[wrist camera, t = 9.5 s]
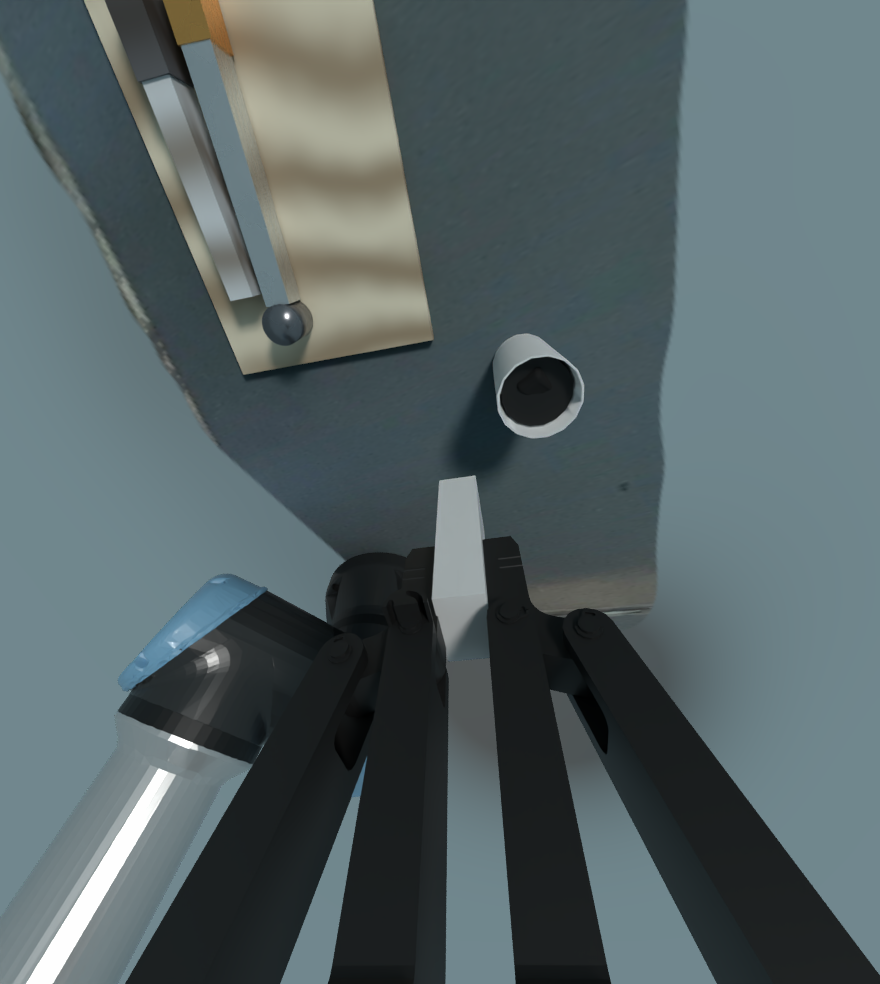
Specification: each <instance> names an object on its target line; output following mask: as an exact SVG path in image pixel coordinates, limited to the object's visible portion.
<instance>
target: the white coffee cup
mask: <svg viewBox="0 0 880 984" xmlns="http://www.w3.org/2000/svg"><path fill="white" fill-rule="evenodd" d="M493 375H494V383H495V392H496V400H497V408H498V412H499V414H500V416H501V418H502V420H503V422H504V424H505V425H506V426H507V427H508V428H510V429H511V430H512V431H514V432H515V433H516V434H518V435H522V436H525V437H529V438H540V437H549V436H551V435H553V434H555V433H557V432H559V431H561V430H564V429H565V428H566V427H567V426H568V425H569V424H570V423H571V422H572V421H573V420H574V419H575V418H576V416H577V414H578V412H579V410H580V408H581V406H582V404H583V399H584V383H583V381H582V378H581V376H580V373H579V371H578V369H576V368H575V367H574V366H573V365H572V364H571V363H570V362H569V361H568V360H566V359H565V358H564V357H563V356H562V355H560V354H559V353H558V352H557V351H555V350H554V349H553V348H552V347H550V346H549V345H548V344H547V343H546V342H544V341H543V340H542V339H541V338H539V337H537V336H534V335H531V334H520V335H515V336H513V337H511V338H509V339H507V340H506V341H504V342H503V344H502V345H501V346H500V347H499V348H498V350H497V351H496V354H495V357H494V360H493Z"/></svg>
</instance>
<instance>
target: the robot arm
mask: <svg viewBox="0 0 880 984" xmlns="http://www.w3.org/2000/svg"><path fill="white" fill-rule="evenodd" d="M267 590H268V589H267V588H266V587H259V586H257V585H255V584H253V583H251V582H248V581H246V580H244V579H242V578H240V577H238V576H236V575H232V574H221V575H217V576H215V577H213V578H212V579H210V580H209V581H208V582H206V583H205V584H204V585H203V586H202V587H201V588H200V589H199V590H198V591H197V592H196V593H195V594H194V595H193V596H192V597H191V598H190V599H189V600H188V601H187V602H186V604H184V606H183V607H182V608H181V609H180V610H179V611H178V612H177V613H176V614H175V615H174V616H173V617H172V618H171V619H170V620H169V622H168V623H167V624H166V625H165V626H164V627H163V628H162V629H161V630H160V631H159V632H158V634H156V636H155V637H154V638H153V639H152V640H151V641H150V642H149V643H148V644H147V646H146V647H145V648H144V649H143V651H141V652H140V653H139V655H138V656H137V657H136V658H135V659H134V660H133V662H132V663H130V664H129V665H128V667H127V668H126V669H125V670H124V671H123V672H122V674H121V675H120V676H119V678H118V684H119V685H120V686H121V687H122V690H123V691H129V690H132V691H131V692H130V694H129V696H128V697H127V699H126V700H125V701H124V703H123V704H122V706H121V707H120V708H119V710H118V711H117V712H116V714H115V715H114V716H115V723H116V729H117V736H118V741H117V748H116V749H115V750H114V752H113V753H112V755H111V756H110V758H109V759H108V761H107V762H106V764H105V765H104V766H103V768H102V769H101V771H100V772H99V774H98V775H97V777H96V778H95V780H94V781H93V783H92V784H91V785H90V787H89V788H88V790H87V791H86V793H85V794H84V796H83V797H82V799H81V800H80V802H79V803H78V805H77V806H76V807H75V809H74V810H73V812H72V813H71V815H70V816H69V818H68V819H67V821H66V822H65V823H64V825H63V826H62V828H61V829H60V831H59V832H58V834H57V835H56V837H55V838H54V840H53V841H52V843H51V844H50V845H49V847H48V848H47V850H46V851H45V853H44V854H43V856H42V857H41V859H40V860H39V861H38V863H37V865H36V866H35V868H34V869H33V870H32V872H31V873H30V875H29V876H28V878H27V879H26V880H25V882H24V883H23V885H22V886H21V888H20V889H19V891H18V892H17V894H16V895H15V897H14V898H13V899H12V901H11V902H10V904H9V905H8V907H7V908H6V910H5V911H4V913H3V914H2V916H1V917H0V984H118V983H119V980H120V979H121V977H122V975H123V973H124V971H125V969H126V967H127V965H128V963H129V962H130V959H131V958H132V956H133V954H134V952H135V950H136V948H137V946H138V944H139V942H140V941H141V939H142V937H143V935H144V933H145V931H146V929H147V927H148V925H149V923H150V921H151V920H152V918H153V916H154V914H155V912H156V910H157V908H158V906H159V904H160V902H161V900H162V899H163V897H164V895H165V893H166V891H167V889H168V887H169V885H170V883H171V881H172V879H173V877H174V876H175V874H176V872H177V870H178V868H179V866H180V864H181V862H182V860H183V859H184V857H185V855H186V853H187V851H188V849H189V847H190V845H191V843H192V841H193V839H194V838H195V836H196V834H197V832H198V830H199V828H200V826H201V824H202V822H203V820H204V818H205V817H206V815H207V813H208V811H209V809H210V807H211V805H212V803H213V801H214V799H215V797H216V795H217V794H218V792H219V790H220V788H221V786H222V785H223V784H224V783H225V782H227V781H228V780H229V779H231V778H233V777H235V776H237V775H239V774H241V773H243V772H245V771H247V770H249V769H250V771H249V772H248V774H247V776H246V778H245V779H244V781H243V783H242V784H241V786H240V788H239V789H238V791H237V793H236V795H235V796H234V798H233V800H232V801H231V803H230V805H229V807H228V808H227V810H226V812H225V814H224V815H223V817H222V819H221V820H220V822H219V824H218V825H217V827H216V829H215V831H214V832H213V834H212V836H211V838H210V839H209V841H208V843H207V845H206V846H205V848H204V850H203V851H202V853H201V855H200V856H199V858H198V860H197V861H196V863H195V865H194V867H193V868H192V870H191V872H190V873H189V875H188V877H187V879H186V880H185V882H184V884H183V886H182V887H181V889H180V891H179V892H178V894H177V896H176V897H175V899H174V901H173V903H172V904H171V906H170V908H169V910H168V911H167V913H166V915H165V916H164V918H163V920H162V921H161V923H160V925H159V927H158V928H157V930H156V932H155V933H154V935H153V937H152V939H151V940H150V942H149V944H148V945H147V947H146V949H145V951H144V952H143V954H142V956H141V957H140V959H139V961H138V963H137V964H136V966H135V968H134V969H133V971H132V973H131V975H130V977H129V978H128V980H127V981H126V983H125V984H280V982H281V980H282V977H283V975H284V972H285V970H286V967H287V964H288V961H289V959H290V956H291V954H292V951H293V949H294V946H295V943H296V941H297V938H298V936H299V933H300V930H301V928H302V925H303V922H304V920H305V917H306V914H307V912H308V909H309V906H310V904H311V902H312V899H313V896H314V894H315V891H316V888H317V886H318V883H319V880H320V878H321V875H322V873H323V870H324V868H325V865H326V862H327V860H328V857H329V854H330V852H331V849H332V846H333V844H334V841H335V839H336V836H337V833H338V831H339V828H340V826H341V823H342V820H343V818H344V815H345V813H346V810H347V807H348V805H349V802H350V799H351V797H358V796H360V803H359V808H358V815H357V820H356V827H355V833H354V838H353V844H352V851H351V856H350V862H349V868H348V875H347V881H346V886H345V893H344V898H343V904H342V910H341V917H340V922H339V929H338V934H337V941H336V946H335V952H334V959H333V964H332V969H331V975H330V979H329V982H328V984H445V969H446V877H447V783H448V691H449V678H448V673H447V669H446V655H447V658H448V661H449V662H450V661H461V660H472V659H482V658H483V659H484V658H490V667H491V679H492V691H493V704H494V715H495V728H496V741H497V753H498V766H499V778H500V790H501V803H502V816H503V828H504V839H505V851H506V852H505V853H506V865H507V878H508V891H509V903H510V915H511V928H512V940H513V953H514V965H515V980H516V984H611V981H610V977H609V972H608V968H607V964H606V958H605V953H604V949H603V944H602V939H601V934H600V930H599V925H598V919H597V915H596V910H595V905H594V900H593V895H592V891H591V886H590V881H589V876H588V871H587V867H586V862H585V857H584V852H583V847H582V842H581V838H580V833H579V828H578V824H577V818H576V814H575V809H574V804H573V799H572V794H571V790H570V785H569V780H568V775H567V770H566V765H565V761H564V756H563V751H562V746H561V741H560V737H559V732H558V727H557V722H556V718H555V713H554V708H553V703H552V698H551V693H550V689H551V690H555V691H559V692H563V693H567V696H568V697H569V699H570V701H571V703H572V705H573V707H574V709H575V711H576V713H577V715H578V717H579V719H580V721H581V722H582V724H583V726H584V728H585V730H586V732H587V734H588V736H589V738H590V740H591V742H592V743H593V746H594V748H595V749H596V751H597V753H598V755H599V757H600V759H601V761H602V763H603V765H604V766H605V769H606V771H607V772H608V774H609V776H610V778H611V780H612V782H613V784H614V786H615V788H616V790H617V792H618V794H619V796H620V798H621V800H622V801H623V803H624V805H625V807H626V809H627V811H628V813H629V815H630V817H631V818H632V821H633V823H634V825H635V827H636V828H637V830H638V832H639V834H640V836H641V838H642V840H643V842H644V844H645V846H646V848H647V850H648V852H649V854H650V855H651V857H652V859H653V861H654V863H655V865H656V867H657V869H658V871H659V873H660V875H661V877H662V878H663V881H664V882H665V884H666V886H667V888H668V890H669V892H670V894H671V896H672V898H673V900H674V901H675V904H676V905H677V907H678V909H679V911H680V913H681V915H682V917H683V919H684V921H685V923H686V925H687V927H688V929H689V931H690V932H691V934H692V936H693V938H694V940H695V942H696V944H697V946H698V948H699V950H700V952H701V954H702V956H703V958H704V960H705V961H706V963H707V965H708V967H709V969H710V971H711V973H712V975H713V977H714V979H715V981H716V983H717V984H880V975H879V974H878V972H877V971H876V970H875V968H874V967H873V966H872V964H871V963H870V962H869V961H868V959H867V958H866V957H865V955H864V954H863V953H862V951H861V950H860V949H859V947H858V946H857V945H856V943H855V942H854V941H853V939H852V938H851V937H850V935H849V934H848V933H847V931H846V930H845V929H844V928H843V926H842V925H841V923H840V922H839V921H838V919H837V918H836V917H835V915H834V914H833V913H832V911H831V910H830V909H829V907H828V906H827V905H826V903H825V902H824V901H823V900H822V898H821V897H820V895H819V894H818V893H817V891H816V890H815V889H814V888H813V886H812V885H811V884H810V882H809V881H808V880H807V878H806V877H805V876H804V874H803V873H802V872H801V870H800V869H799V868H798V866H797V865H796V864H795V862H794V861H793V860H792V858H791V857H790V856H789V854H788V853H787V852H786V850H785V849H784V848H783V846H782V845H781V844H780V842H779V841H778V840H777V838H776V837H775V836H774V834H773V833H772V832H771V831H770V829H769V828H768V826H767V825H766V824H765V822H764V821H763V820H762V818H761V817H760V816H759V814H758V813H757V812H756V810H755V809H754V808H753V806H752V805H751V804H750V802H749V801H748V800H747V799H746V797H745V796H744V795H743V793H742V792H741V791H740V789H739V788H738V787H737V785H736V784H735V783H734V781H733V780H732V779H731V777H730V776H729V775H728V773H727V772H726V771H725V769H724V768H723V767H722V765H721V764H720V763H719V761H718V760H717V759H716V757H715V756H714V755H713V753H712V752H711V751H710V749H709V748H708V747H707V745H706V744H705V743H704V741H703V740H702V739H701V737H700V736H699V735H698V733H696V731H695V730H694V728H693V727H692V725H691V724H690V723H689V722H688V720H687V719H686V718H685V716H684V715H683V714H682V712H681V711H680V710H679V708H678V707H677V706H676V704H675V703H674V702H673V700H672V699H671V698H670V696H669V695H668V694H667V692H666V691H665V690H664V688H663V687H662V686H661V684H660V683H659V682H658V680H657V679H656V678H655V676H654V675H653V674H652V673H651V671H650V670H649V669H648V667H647V666H646V664H645V663H644V662H643V660H642V659H641V658H640V656H639V655H638V654H637V652H636V651H635V650H634V649H633V647H632V646H631V645H630V643H629V642H628V641H627V639H626V638H625V637H624V635H623V634H622V633H621V631H620V630H619V629H618V627H617V626H616V625H615V623H614V622H613V621H612V620H611V619H610V618H609V617H608V616H607V615H606V614H604V613H602V612H600V611H598V610H595V609H588V608H583V609H576V610H574V611H572V612H570V613H569V614H568V615H567V616H566V617H565V618H562V617H556V616H551V615H548V614H545V613H543V612H541V611H539V610H538V609H537V608H535V607H534V605H533V604H532V603H531V601H530V598H529V595H528V590H527V585H526V580H525V575H524V570H523V566H522V561H521V556H520V551H519V546H518V544H517V543H516V542H515V541H514V540H513V539H512V537H511V536H507V537H499V538H491V539H485V536H484V527H483V521H482V514H481V508H480V501H479V495H478V488H477V482H476V476H468V477H461V478H454V479H447V480H440V481H439V494H438V509H437V525H436V541H435V546H434V547H426V548H417V549H412V551H411V552H410V554H409V555H408V557H407V558H406V557H403V556H399V555H396V554H390V553H367V554H362V555H359V556H356V557H353V558H351V559H349V560H347V561H345V562H344V563H343V564H341V565H340V566H339V567H338V568H337V569H336V571H335V572H334V573H333V575H332V577H331V580H330V583H329V586H328V589H327V592H326V617H327V623H326V622H324V621H322V620H321V619H319V618H317V617H315V616H313V615H311V614H310V613H308V612H306V611H304V610H302V609H300V608H298V607H297V606H295V605H293V604H291V603H289V602H287V601H285V600H284V599H282V598H280V597H278V596H276V595H274V594H272V593H270V592H269V591H267ZM263 745H264V747H263V748H262V746H263ZM261 748H262V750H261ZM260 750H261V752H260ZM259 752H260V754H259ZM258 754H259V755H258ZM257 756H258V757H257ZM256 758H257V759H256Z"/></svg>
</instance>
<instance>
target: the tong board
mask: <svg viewBox="0 0 880 984" xmlns="http://www.w3.org/2000/svg"><path fill="white" fill-rule="evenodd" d="M218 1H219V5H220V8H221V12H222V16H223V19H224V23H225V26H226V30H227V33H228V37H229V40H230V44H231V47H232V51H233V55H234V56H232V59H233V62H234V66H235V69H236V73H237V76H238V80H239V83H240V87H241V90H242V94H243V97H244V101H245V104H246V108H247V111H248V115H249V118H250V122H251V126H252V129H253V133H254V136H255V140H256V143H257V147H258V150H259V154H260V157H261V161H262V164H263V168H264V171H265V175H266V178H267V182H268V185H269V189H270V192H271V196H272V199H273V203H274V206H275V210H276V214H277V217H278V221H279V224H280V228H281V231H282V235H283V238H284V242H285V245H286V249H287V252H288V256H289V259H290V263H291V266H292V270H293V273H294V277H295V280H296V284H297V287H298V291H299V294H300V298H301V299H300V300H298V301H300V302H302V303H303V304H305V305H306V306H307V307H308V309H309V310H310V312H311V314H312V317H313V327H312V329H311V331H310V332H309V334H307V335H306V336H304V337H303V338H301V339H300V340H298V341H297V342H295V343H293V344H292V345H288V346H282V345H278V344H276V343H274V342H273V341H271V340H270V339H269V338H268V337H267V335H266V334H265V332H264V330H263V327H262V316H263V313H264V312H265V310H266V309H267V308H269V307H266V305H265V302H264V299H263V296H262V293H261V290H260V286H259V283H258V280H257V277H256V274H255V271H254V268H253V265H252V262H251V259H250V256H249V253H248V250H247V247H246V244H245V241H244V237H243V234H242V231H241V228H240V225H239V222H238V219H237V216H236V213H235V210H234V207H233V204H232V201H231V198H230V195H229V192H228V189H227V185H226V182H225V179H224V176H223V173H222V170H221V167H220V164H219V161H218V158H217V155H216V152H215V149H214V146H213V143H212V140H211V136H210V133H209V130H208V127H207V124H206V121H205V118H204V115H203V112H202V109H201V106H200V103H199V100H198V97H197V94H196V91H195V88H194V84H193V81H192V78H191V75H190V72H189V69H188V66H187V63H186V60H185V57H184V54H183V51H182V48H181V47H180V46H178V45H177V42H176V39H175V36H174V33H173V30H172V27H171V24H170V21H169V17H168V14H167V11H166V8H165V5H164V2H163V0H84V2H85V4H86V7H87V9H88V11H89V14H90V16H91V18H92V21H93V23H94V25H95V28H96V30H97V33H98V35H99V37H100V40H101V42H102V44H103V47H104V49H105V51H106V54H107V56H108V58H109V61H110V63H111V65H112V68H113V70H114V72H115V75H116V77H117V79H118V82H119V84H120V86H121V89H122V91H123V93H124V96H125V98H126V101H127V103H128V105H129V108H130V110H131V112H132V115H133V117H134V119H135V122H136V124H137V126H138V129H139V131H140V133H141V136H142V138H143V140H144V143H145V145H146V147H147V150H148V152H149V154H150V157H151V159H152V161H153V164H154V166H155V169H156V171H157V173H158V176H159V178H160V180H161V183H162V185H163V187H164V190H165V192H166V194H167V197H168V199H169V201H170V204H171V206H172V208H173V211H174V213H175V215H176V218H177V220H178V222H179V225H180V227H181V230H182V232H183V234H184V237H185V239H186V241H187V244H188V246H189V248H190V251H191V253H192V255H193V258H194V260H195V262H196V265H197V267H198V269H199V272H200V274H201V276H202V279H203V281H204V283H205V286H206V288H207V290H208V293H209V295H210V298H211V300H212V302H213V305H214V307H215V309H216V312H217V314H218V316H219V319H220V321H221V323H222V326H223V328H224V330H225V333H226V335H227V337H228V340H229V342H230V344H231V347H232V349H233V351H234V354H235V356H236V358H237V361H238V363H239V366H240V368H241V370H242V373H243V375H245V374H250V373H256V372H261V371H267V370H272V369H278V368H283V367H289V366H294V365H300V364H305V363H310V362H316V361H321V360H327V359H332V358H338V357H343V356H349V355H354V354H360V353H365V352H370V351H376V350H381V349H387V348H392V347H398V346H403V345H409V344H414V343H419V342H425V341H430V340H434V335H433V330H432V324H431V319H430V313H429V308H428V302H427V296H426V291H425V285H424V280H423V274H422V269H421V263H420V258H419V252H418V246H417V241H416V235H415V230H414V224H413V219H412V213H411V207H410V202H409V196H408V191H407V185H406V180H405V174H404V169H403V163H402V157H401V152H400V146H399V141H398V135H397V130H396V124H395V119H394V113H393V107H392V102H391V96H390V91H389V85H388V80H387V74H386V68H385V63H384V57H383V52H382V46H381V41H380V35H379V30H378V24H377V18H376V13H375V7H374V2H373V0H218Z"/></svg>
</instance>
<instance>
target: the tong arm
mask: <svg viewBox="0 0 880 984" xmlns="http://www.w3.org/2000/svg"><path fill="white" fill-rule="evenodd" d="M163 2H164V5H165V8H166V11H167V14H168V17H169V21H170V24H171V27H172V30H173V33H174V36H175V39H176V42H177V45H178V46H180V47H181V48H182V51H183V54H184V57H185V60H186V63H187V66H188V69H189V72H190V75H191V78H192V81H193V84H194V88H195V91H196V94H197V97H198V100H199V103H200V106H201V109H202V112H203V115H204V118H205V121H206V124H207V127H208V130H209V133H210V136H211V140H212V143H213V146H214V149H215V152H216V155H217V158H218V161H219V164H220V167H221V170H222V173H223V176H224V179H225V182H226V185H227V189H228V192H229V195H230V198H231V201H232V204H233V207H234V210H235V213H236V216H237V219H238V222H239V225H240V228H241V231H242V234H243V237H244V241H245V244H246V247H247V250H248V253H249V256H250V259H251V262H252V265H253V268H254V271H255V274H256V277H257V280H258V283H259V286H260V290H261V293H262V296H263V299H264V302H265V305H266V307H269V308H267V309H266V310H265V312H264V313H263V316H262V327H263V330H264V332H265V334H266V335H267V337H268V338H269V339H270V340H271V341H273V342H274V343H276V344H278V345H282V346H288V345H292V344H293V343H295V342H297V341H298V340H300V339H301V338H303V337H304V336H306V335H307V334H309V332H310V331H311V329H312V327H313V317H312V314H311V312H310V310H309V309H308V307H307V306H306V305H305V304H303V303H302V302H300V301H298V300H300V299H301V298H300V294H299V291H298V287H297V284H296V280H295V277H294V273H293V270H292V266H291V263H290V259H289V256H288V252H287V249H286V245H285V242H284V238H283V235H282V231H281V228H280V224H279V221H278V217H277V214H276V210H275V206H274V203H273V199H272V196H271V192H270V189H269V185H268V182H267V178H266V175H265V171H264V168H263V164H262V161H261V157H260V154H259V150H258V147H257V143H256V140H255V136H254V133H253V129H252V126H251V122H250V118H249V115H248V111H247V108H246V104H245V101H244V97H243V94H242V90H241V87H240V83H239V80H238V76H237V73H236V69H235V66H234V62H233V59H232V56H234V55H233V51H232V47H231V44H230V40H229V37H228V33H227V30H226V26H225V23H224V19H223V16H222V12H221V8H220V5H219V1H218V0H163Z"/></svg>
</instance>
